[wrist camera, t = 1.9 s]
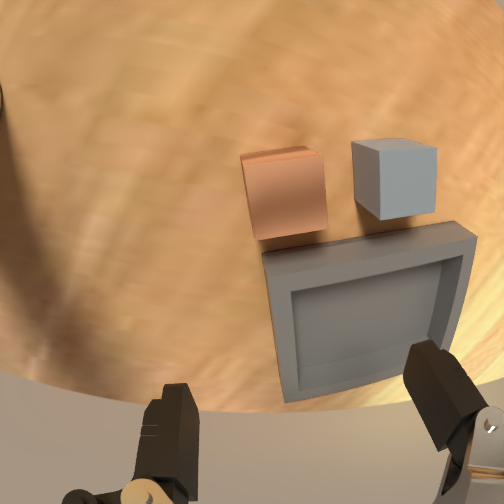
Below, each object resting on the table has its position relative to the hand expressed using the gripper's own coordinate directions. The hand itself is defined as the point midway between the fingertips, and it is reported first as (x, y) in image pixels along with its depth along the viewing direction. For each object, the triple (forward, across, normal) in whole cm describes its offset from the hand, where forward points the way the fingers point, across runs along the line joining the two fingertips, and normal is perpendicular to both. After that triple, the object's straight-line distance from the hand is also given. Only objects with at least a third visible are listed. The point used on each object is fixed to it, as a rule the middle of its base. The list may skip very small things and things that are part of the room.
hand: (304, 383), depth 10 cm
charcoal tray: (+17, -10, +11) cm, 23 cm away
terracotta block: (+17, -2, -3) cm, 17 cm away
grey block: (+17, -11, -3) cm, 21 cm away
